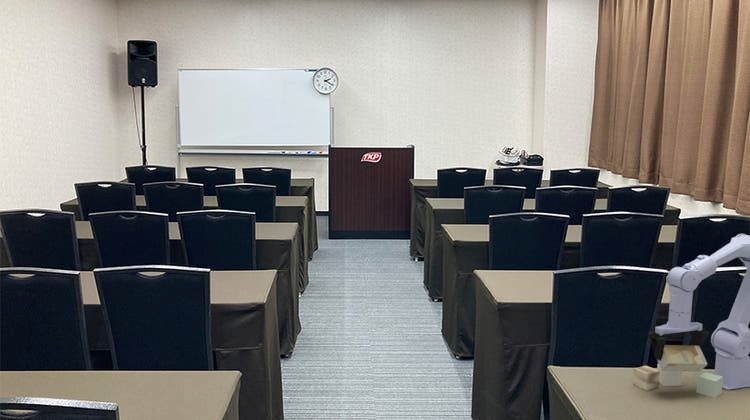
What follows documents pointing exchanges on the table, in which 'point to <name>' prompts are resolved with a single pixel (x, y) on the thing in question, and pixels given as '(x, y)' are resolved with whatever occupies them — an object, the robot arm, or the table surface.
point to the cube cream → (669, 377)
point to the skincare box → (682, 358)
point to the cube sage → (709, 384)
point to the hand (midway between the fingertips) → (676, 356)
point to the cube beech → (646, 377)
